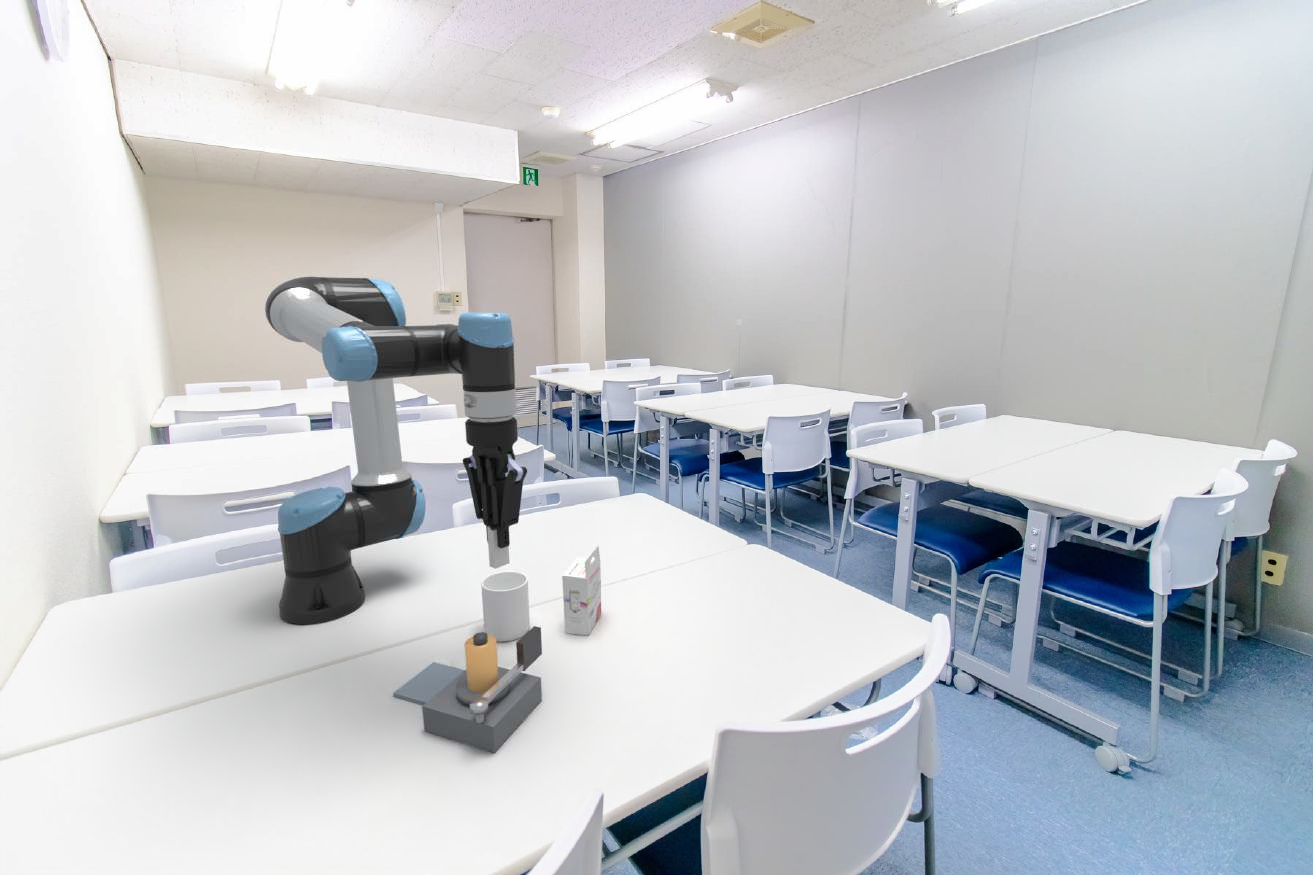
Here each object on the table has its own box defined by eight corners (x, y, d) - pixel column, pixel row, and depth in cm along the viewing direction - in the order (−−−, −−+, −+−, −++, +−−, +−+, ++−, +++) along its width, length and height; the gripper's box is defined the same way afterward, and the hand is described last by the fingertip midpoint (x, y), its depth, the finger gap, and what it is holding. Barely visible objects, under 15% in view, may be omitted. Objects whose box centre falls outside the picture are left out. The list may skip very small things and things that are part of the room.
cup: (483, 645, 108) (480, 592, 106) (486, 612, 120) (483, 565, 118) (530, 639, 110) (528, 588, 108) (529, 608, 122) (527, 561, 119)
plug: (447, 725, 88) (440, 643, 85) (480, 694, 95) (475, 618, 92) (491, 738, 85) (485, 655, 82) (521, 705, 92) (517, 627, 89)
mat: (393, 696, 94) (393, 692, 94) (433, 665, 102) (433, 661, 102) (440, 709, 91) (440, 706, 91) (478, 676, 99) (477, 673, 99)
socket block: (424, 730, 86) (421, 698, 85) (477, 683, 97) (475, 654, 96) (494, 752, 82) (492, 719, 81) (541, 700, 93) (540, 670, 92)
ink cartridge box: (578, 611, 120) (576, 541, 117) (602, 614, 119) (600, 544, 116) (563, 633, 112) (560, 559, 109) (588, 636, 111) (587, 562, 108)
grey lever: (466, 713, 82) (464, 683, 81) (532, 651, 96) (531, 625, 95) (481, 718, 81) (479, 687, 80) (545, 654, 96) (544, 628, 95)
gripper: (444, 416, 92) (454, 561, 97) (497, 426, 84) (506, 584, 89) (485, 409, 97) (493, 547, 102) (539, 418, 89) (545, 567, 94)
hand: (499, 564), depth 95 cm, fingers closed
